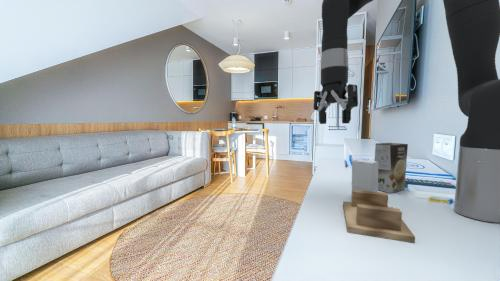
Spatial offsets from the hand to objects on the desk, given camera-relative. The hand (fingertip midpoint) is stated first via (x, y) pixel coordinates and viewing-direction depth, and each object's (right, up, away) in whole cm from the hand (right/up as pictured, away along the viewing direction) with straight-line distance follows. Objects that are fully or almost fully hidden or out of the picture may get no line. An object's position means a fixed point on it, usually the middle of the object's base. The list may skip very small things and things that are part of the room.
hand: (333, 123), depth 65 cm
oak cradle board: (+4, -24, -13) cm, 28 cm away
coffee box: (+24, -22, +12) cm, 35 cm away
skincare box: (+9, -23, 0) cm, 25 cm away
